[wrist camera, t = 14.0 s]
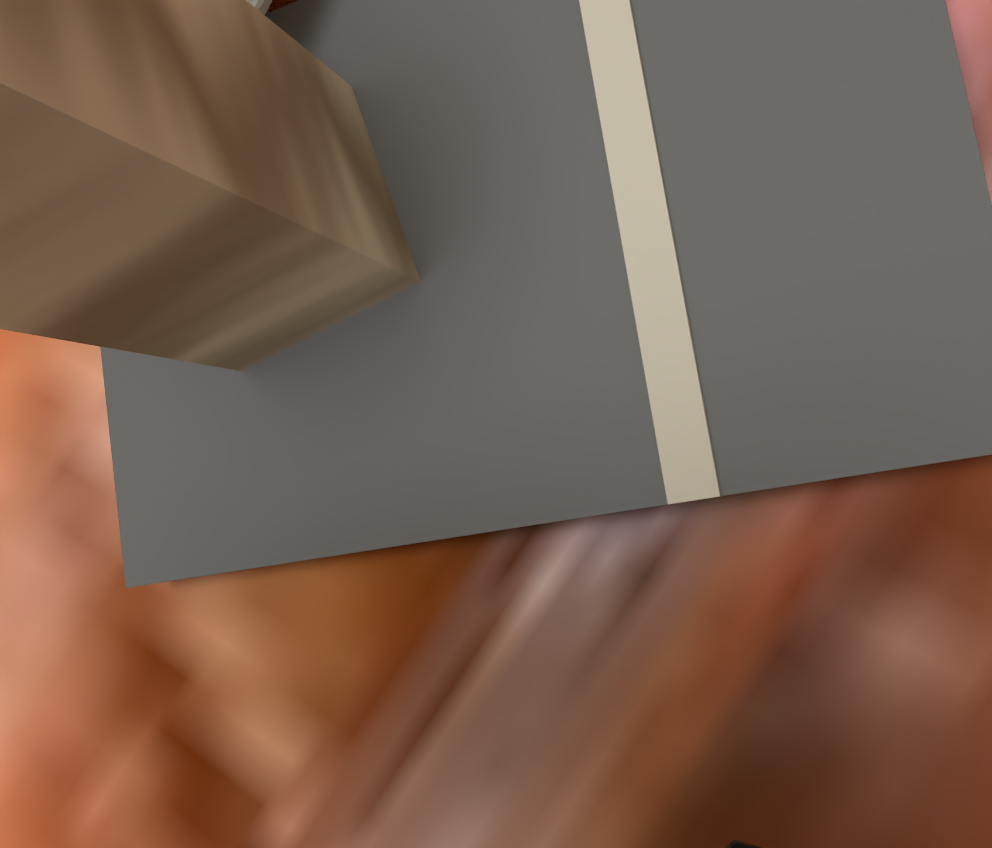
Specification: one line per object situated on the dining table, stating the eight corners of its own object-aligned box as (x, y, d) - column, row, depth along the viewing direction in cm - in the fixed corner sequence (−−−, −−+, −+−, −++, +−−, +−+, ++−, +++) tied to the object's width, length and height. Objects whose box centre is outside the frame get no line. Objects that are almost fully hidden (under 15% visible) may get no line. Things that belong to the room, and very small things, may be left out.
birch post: (420, 281, 20) (-249, -35, 7) (241, 371, 21) (-559, 230, 9) (351, 85, 20) (-350, -485, 8) (183, 185, 22) (-615, -173, 10)
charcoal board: (1027, 448, 17) (1047, 445, 15) (168, 580, 23) (121, 588, 22) (886, -183, 18) (891, -244, 17) (116, 112, 25) (68, 88, 23)
